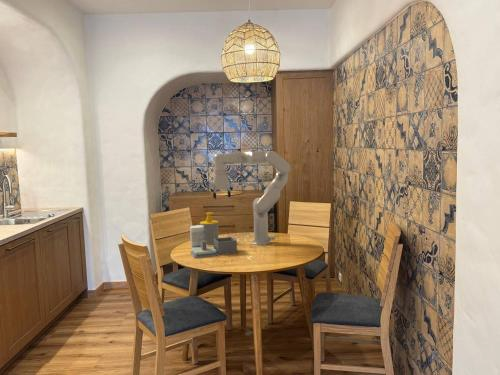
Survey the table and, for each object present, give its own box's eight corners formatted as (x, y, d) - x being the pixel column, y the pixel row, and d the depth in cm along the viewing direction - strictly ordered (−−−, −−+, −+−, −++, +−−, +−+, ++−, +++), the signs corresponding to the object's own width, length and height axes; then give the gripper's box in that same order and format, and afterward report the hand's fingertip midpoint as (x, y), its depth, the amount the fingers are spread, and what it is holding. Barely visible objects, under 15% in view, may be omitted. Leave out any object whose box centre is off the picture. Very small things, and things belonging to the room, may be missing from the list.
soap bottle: (220, 244, 291) (218, 213, 289) (201, 245, 289) (199, 214, 287) (218, 239, 304) (217, 210, 302) (200, 241, 302) (199, 211, 300)
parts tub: (231, 248, 277) (231, 236, 276) (236, 252, 265) (236, 240, 265) (213, 250, 273) (213, 238, 272) (218, 255, 262) (217, 242, 261)
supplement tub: (207, 248, 280) (206, 226, 279) (194, 250, 275) (193, 228, 274) (201, 245, 288) (200, 224, 287) (188, 247, 283) (187, 226, 282)
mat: (212, 250, 274) (212, 249, 274) (217, 255, 260) (217, 254, 260) (190, 252, 269) (190, 251, 269) (194, 258, 256) (194, 256, 256)
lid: (211, 249, 273) (211, 238, 272) (216, 253, 261) (215, 242, 260) (191, 251, 269) (191, 240, 268) (195, 256, 257) (195, 244, 256)
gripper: (231, 171, 287) (232, 196, 289) (206, 173, 281) (208, 198, 283) (234, 171, 280) (236, 197, 282) (209, 173, 274) (210, 199, 276)
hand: (222, 197), depth 282 cm, fingers open, 9 cm apart
